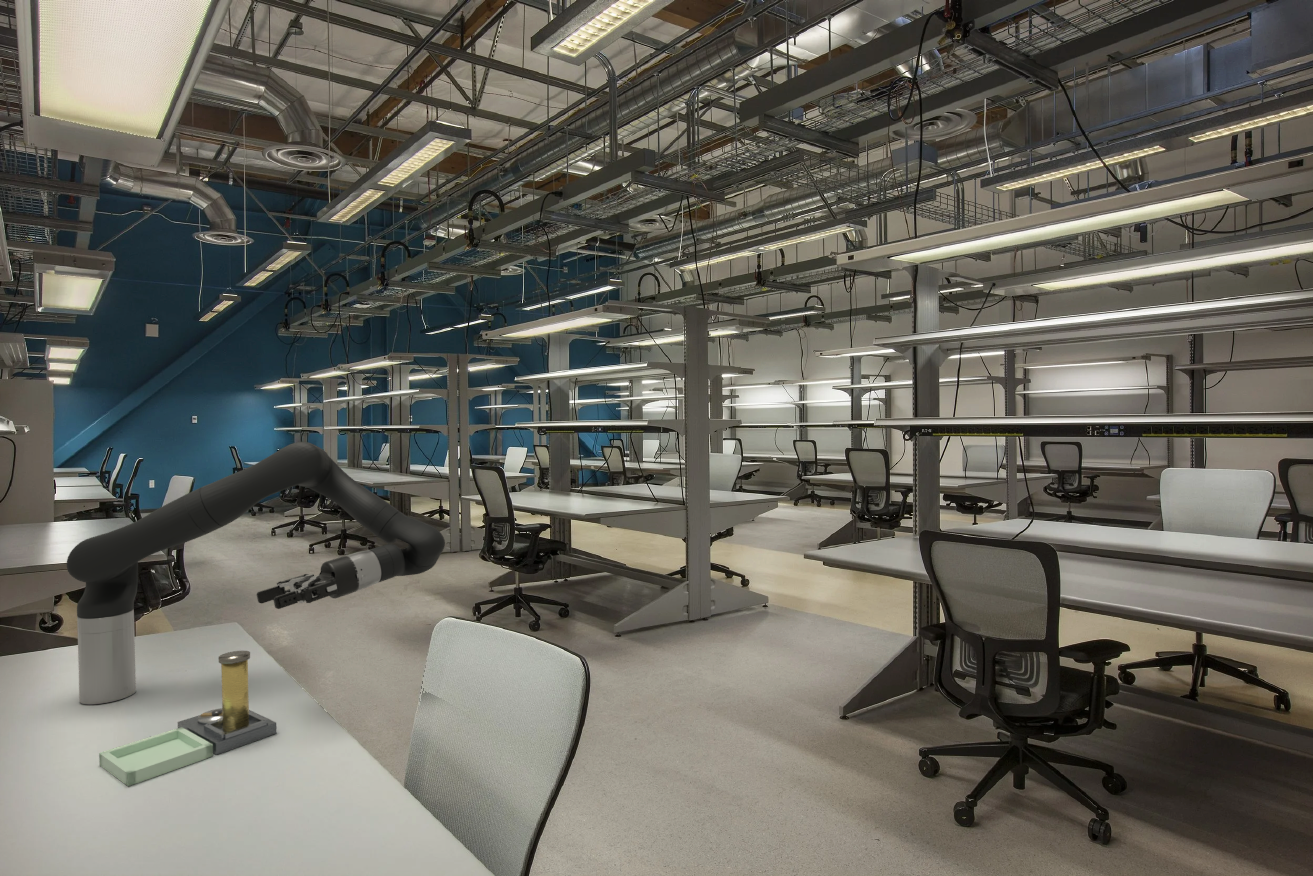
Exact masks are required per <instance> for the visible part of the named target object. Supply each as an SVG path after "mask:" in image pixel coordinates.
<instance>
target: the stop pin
mask: <svg viewBox="0 0 1313 876" xmlns="http://www.w3.org/2000/svg"><path fill="white" fill-rule="evenodd" d="M250 658H251V651H248V650H235V651H229V652H225V653H222V654H220V655H219V656H218V663H219V664H221V670H220V671H221V701H222V702H221V704H222V705H221V706H222V714H223V731H225V732H230V731H232V730H235V729H238V728H241V727H244V726H247V725H249V710H250V709H249V707H250V705H249V700H250V699H249V660H250Z"/></svg>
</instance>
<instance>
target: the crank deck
mask: <svg viewBox="0 0 1313 876" xmlns="http://www.w3.org/2000/svg"><path fill="white" fill-rule="evenodd" d="M180 727H183V728H184V729H186V730H188V731H190V732H191V733H193V734H195V735H197V736H199V737H200V738H202V739H204V740H206V741H208V742H209V743H211V744H213V755H216V756H217V755H220V754H223V753H225V752H229V751H232V750H234V749H237V748H240V747H243V746H245V745H247V744H248V745H249V744H251V743H254V742H256V741H259V740H262V739H265V738H268V737H271V736H273V735H277V722H276V721H274V720H272V719H270V718H268V717H265V716H264V715H261V714H259V713H258V712H255V711H252V710H250V709H249V725H247V726H244V727H241V728H238V729H235V730H232V731H230V732H225V731H223V714H222V708H216V709H212V710H208V711H205V712H203V713H201V714H199V715H196V716H192V717H189V718H186V719H183V720H179V721H177V728H180Z"/></svg>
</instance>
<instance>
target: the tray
mask: <svg viewBox="0 0 1313 876" xmlns="http://www.w3.org/2000/svg"><path fill="white" fill-rule="evenodd" d="M98 754H99V755H98V756H99V758H98V759H99V760H98V761H99V766H100V767H101V768H103V769H104V770H105V771H106V772H108V773H110V774H111V775H112V776H114V777H115V778H116V779H117V780H119V781H120V782H122V783H123V784H124V785H125V786H127V787H130V786H134V785H136V784H140V783H141V782H146V781H147V780H150V779H154V778H156V777H158V776H161V775H164V774H166V773H167V774H168V773H169V772H172V771H175V770H176V771H177V770H178V769H180V768H184V767H186V766H189V765H193V764H195V763H197V762H200V761H201V762H202V761H204V760H206V759H210V758H212V757H214V754H213V744H211V743H209V742H208V741H206V740H204V739H202V738H200V737H199V736H197V735H195V734H193V733H191V732H190V731H188V730H186V729H184V728H183V727H180V728H178V727H177V728H174V729H172V730H171V729H170V730H169V731H164V732H161V733H158V734H155V735H152V736H149V737H146V738H143V739H139V740H136V741H133V742H130V743H127V744H124V745H121V746H118V747H115V748H111V749H107V750H105V751H101V752H99V753H98Z"/></svg>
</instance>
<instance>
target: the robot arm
mask: <svg viewBox="0 0 1313 876" xmlns="http://www.w3.org/2000/svg"><path fill="white" fill-rule="evenodd" d="M296 486H299V487H305V488H308V489H310V490H312V491H314V492H316V493H318V494H320V495H322V496H324V497H326V498H328V499H329V500H330V501H332V502H333V503H335V504H336V505H338V506H339V507H340V508H341V509H342V510H344V511H345V512H346V514H348V515H349V516H351V517H352V519H354V520H355V521H356V522H357V523H358V524H359V525H360V526H362V527H363V528H365V529H366V530H367V531H369V532H370V533H372V534H373V535H374V536H376V537H377V538H379V539H380V540H381V541H383V542H385V543H386V544H385V545H381V546H377V547H374V548H371V549H367V550H362V551H357V552H354V553H350V554H346V555H343V556H340V557H337V558H333V559H330V560H327V561H324V562H323V563H322V564H321V566H320V572H319V574H317V575H315V574H314V573H310V574H309V573H304V574H301V575H299V576H295V577H291V578H289V579H285V580H280V581H278V582H276V585H275V586H273V587H269V588H267V589H264V590H259V591H257V593H256V599H257V603H259V604H265V603H267V602H272V601H273V604H274V608H275V609H278V610H281V609H284V608H287V607H289V606H292V605H295V604H304V603H305V602H306V604H311V603H312V602H316V601H318V600H322V599H323V598H326V597H330V598H332V599H339V598H341V597H345V596H348V595H350V594H353V593H356V592H359V591H362V590H364V589H365V590H366V589H367V588H370V587H372V586H374V585H376V584H378V583H381V582H384V581H388V580H391V579H392V578H395V577H405V576H406V577H407V576H413V575H419V574H423V573H426V572H428V571H429V570H431V569H432V568H433V567H434V566H435V565H436V564H437V562H438V560H439V558H440V556H441V554H442V553H443V551H444V549H445V547H446V540H445V537H444V536H443V534H442V533H441V531H439V530H438V529H437V528H436V527H435V526H432V524H429V523H426V522H424V521H421V520H419V519H416V518H413V517H410V516H408V515H406V514H404V513H403V512H402V511H400V510H398V509H397V508H396V507H395V506H393V505H392V504H390V503H389V502H387V501H386V500H385V499H384V498H382V497H380V496H378V495H377V494H375V493H374V492H373V491H370V490H369V489H368V488H366V487H364V486H363V485H362V484H360V483H358V481H356V480H355V479H353V478H352V477H351V476H349V475H348V474H347V473H346V472H345V471H344V470H343V469H342V468H341V467H340V466H339V465H338V464H337V463H336V462H335V461H334V460H333V458H331V456H329V454H328V453H327V452H326V451H325V450H324V449H323V448H321V447H319V446H317V445H316V444H313V443H311V442H308V441H297V442H293V443H290V444H288V445H286V446H284V447H283V448H281V449H279V450H278V451H276V452H274V453H272V454H270V455H269V456H267V457H265V458H264V459H262V460H260V461H258V462H257V463H254V464H253V465H251V466H249V467H247V468H244V469H241V470H239V471H237V472H234V473H232V474H230V475H227V476H225V477H222V478H220V479H217V480H215V481H213V482H211V483H209V484H206V485H204V486H203V485H202V486H201V487H199V488H196V489H194V490H193V491H190V492H189V493H186V494H184V495H182V496H180V497H178V498H176V499H174V500H172V501H170V502H168V503H166V504H165V505H163V506H161V507H160V508H159V507H158V508H157V509H155V510H154V511H151V512H149V514H147V515H145V516H144V517H142V518H140V519H137V520H136V521H134V522H132V523H130V524H126V525H125V526H122V527H119V528H117V529H114V530H112V531H108V532H105V533H102V534H98V535H95V536H93V537H89V538H87V539H84V540H82V541H81V542H79V543H78V544H76V545H75V546H74V547H73V549H72V550H71V551H70V552H69V554H68V556H67V558H66V569H67V572H68V573H69V575H70V576H71V577H72V578H73V579H74V580H77V581H79V582H81V583H82V582H83V583H85V588H84V590H83V594H82V596H81V598H80V599H79V600H78V602H77V605H76V623H77V624H76V625H77V651H78V652H77V658H78V659H77V661H78V698H79V699H78V700H79V703H80V704H83V705H101V704H106V703H111V702H116V701H120V700H123V699H126V698H128V697H130V696H132V695H134V694H135V693H136V692H137V686H136V684H137V683H136V682H137V681H136V679H137V677H136V674H137V673H136V670H137V669H136V642H135V612H134V610H135V599H136V596H137V594H138V593H137V592H138V586H139V585H138V581H139V580H138V576H139V562H140V561H142V560H144V559H146V558H147V557H150V556H151V555H154V554H156V553H159V552H161V551H165V550H167V549H170V548H174V547H177V546H179V545H180V546H181V545H182V544H185V543H187V542H190V541H193V540H195V539H198V538H200V537H203V536H206V535H208V534H210V533H212V532H214V531H217V530H218V529H221V528H222V527H225V526H227V525H229V524H231V523H233V522H234V521H236V520H237V519H239V518H240V517H241V516H243V515H244V514H246V513H247V512H248V511H249V510H251V509H252V507H254V506H256V504H258V503H259V502H260V501H262V500H264V499H266V498H268V497H269V496H272V495H274V494H277V493H279V492H282V491H284V490H287V489H290V488H292V487H296ZM398 540H399V541H402V542H404V543H406V544H408V546H406V547H404V548H400V547H399V546H397V544H394V543H397V541H398ZM285 587H289V589H286V588H285Z"/></svg>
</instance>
